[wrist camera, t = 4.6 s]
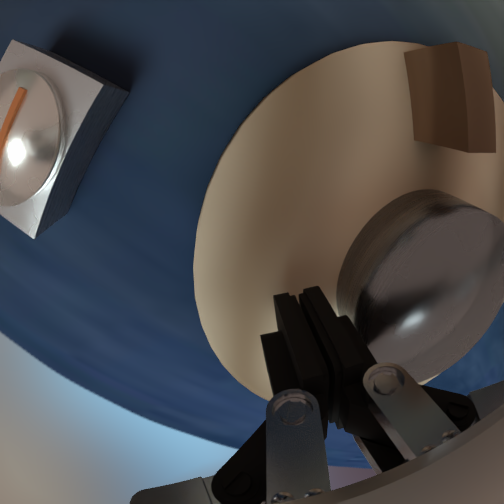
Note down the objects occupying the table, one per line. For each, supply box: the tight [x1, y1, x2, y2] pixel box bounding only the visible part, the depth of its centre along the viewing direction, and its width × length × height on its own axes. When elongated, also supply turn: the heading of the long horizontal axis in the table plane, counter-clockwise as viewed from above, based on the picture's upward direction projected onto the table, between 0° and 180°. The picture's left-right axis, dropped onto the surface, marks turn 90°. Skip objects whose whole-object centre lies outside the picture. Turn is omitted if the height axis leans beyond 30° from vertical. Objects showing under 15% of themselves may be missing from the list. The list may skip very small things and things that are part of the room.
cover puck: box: [336, 189, 504, 383], centre depth 11 cm, size 8×8×3 cm
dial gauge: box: [0, 40, 129, 239], centre depth 8 cm, size 6×5×4 cm
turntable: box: [193, 41, 504, 401], centre depth 11 cm, size 20×20×4 cm
